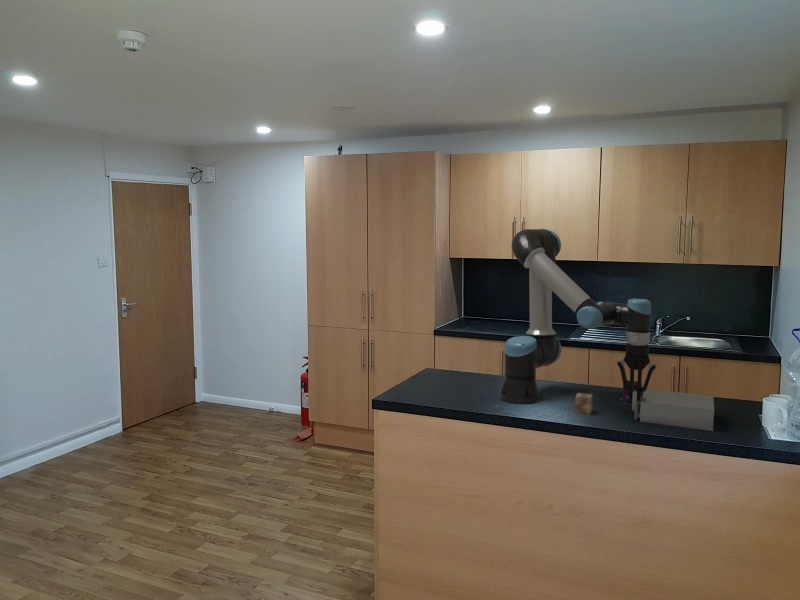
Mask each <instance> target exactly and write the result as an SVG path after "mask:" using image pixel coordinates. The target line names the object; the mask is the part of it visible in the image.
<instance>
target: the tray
mask: <svg viewBox="0 0 800 600" xmlns="http://www.w3.org/2000/svg"><path fill="white" fill-rule="evenodd" d="M641 399H642V397H641ZM641 399H640V401H637V403H636V406H635V409H634V410H633V411H634V412H633V413H634V414H633V415H634V416H633V420H638V418H640V407H641Z"/></svg>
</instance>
